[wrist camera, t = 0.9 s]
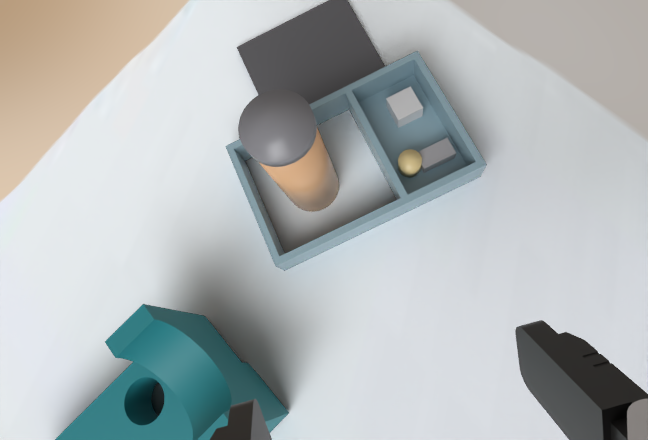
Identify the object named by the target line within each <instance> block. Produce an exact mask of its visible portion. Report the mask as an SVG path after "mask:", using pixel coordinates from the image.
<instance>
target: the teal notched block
mask: <svg viewBox="0 0 648 440" xmlns="http://www.w3.org/2000/svg"><path fill="white" fill-rule="evenodd" d="M105 343H106V344H107V346H108V347H109V349H110V350H111V352H112V353H113V355H114V356H115V358H123V359H127V360H130V361H133V363H132V364H131V365H130V366H129V367H128V368H127V369H126V370H125V371H124V372H123V373H122V374H121V375H120V376H119V377H118V378H117V379H116V380H115V381H114V382H113V383H112V384H111V385H110V386H109V387H108V388H107V389H106V390H105V391H104V392H103V393H102V394H101V395H100V396H99V397H98V398H97V399H96V400H95V401H94V402H93V403H92V404H91V405H90V406H89V407H88V408H87V409H86V410H85V411H84V412H83V413H82V414H81V415H79V416H78V417H77V418H76V419H75V420H74V421H73V422H72V423H71V424H70V425H69V426H68V427H67V428H66V429H65V430H64V431H63V432H62V433H61V434H60V435H59V436H58V437H57V438H56V439H55V440H210V438H211V437H212V435H213V433H214V432H215V430H216V429H217V428H220V427H224V426H227V425H228V418H229V411H230V407H231V406H232V405H235V404H238V403H242V402H246V401H249V400H253V399H256V400H257V401H258V403H259V406H260V409H261V411H262V414H263V417H264V420H265V422H266V425H267V428H268V431H269V433H270V432H271V431H272V430H273V429H274V428H275V427H276V426H277V425H278V424H279V423H280V422H281V421H282V420H283V419H284V418H285V417H286V416H287V415H288V413H289V412H288V411H287V410H286V409H285V407H284V406H283V405H282V404H281V402H280V401H279V400H278V399H277V397H276V396H275V395H274V394H273V392H272V391H271V390H270V389H269V387H268V386H267V385H266V384H265V382H264V381H263V380H262V379H261V377H260V376H259V375H258V374H257V373H256V372H255V370H254V369H253V368H252V367H251V366H250V364H249V363H242V362H241V361H240V359H239V358H238V357H237V356H236V354H235V353H234V352H233V351H232V349H231V348H230V347H229V346H228V344H227V343H226V342H225V341H224V339H223V338H222V337H221V336H220V334H219V333H218V332H217V331H216V329H215V328H214V327H213V326H212V324H211V323H210V322H209V321H208V319H207V318H206V317H205V316H202V315H197V314H192V313H187V312H181V311H176V310H171V309H166V308H161V307H155V306H150V305H145V304H143V305H142V306H141V307H140V308H139V309H138V310H137V311H136V312H135V313H134V314H133V315H132V316H131V317H130V318H129V319H128V320H127V321H126V322H125V323H124V324H123V325H122V326H120V327H119V328H118V329H117V330H116V331H115V332H114V333H113V334H112V335H111V336H110V337H109V338H108V339H107V340H106V341H105ZM158 382H159V383H160V385H161V386H162V389H163V391H164V406H163V409H162V411H161V413H160V415H159V416H158V415H157V414H156V413H155V411H154V410H153V407H152V402H151V397H152V392H153V389H154V387H155V385H156V384H157V383H158Z"/></svg>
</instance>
